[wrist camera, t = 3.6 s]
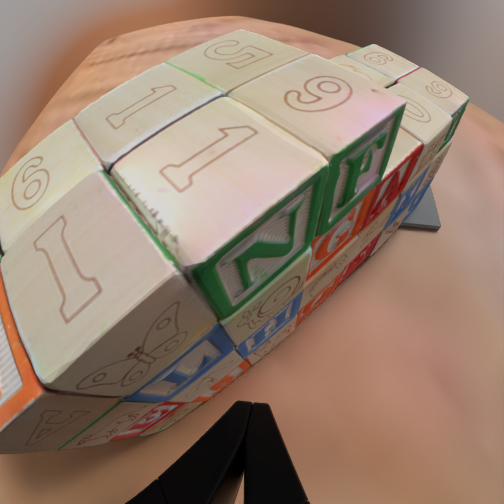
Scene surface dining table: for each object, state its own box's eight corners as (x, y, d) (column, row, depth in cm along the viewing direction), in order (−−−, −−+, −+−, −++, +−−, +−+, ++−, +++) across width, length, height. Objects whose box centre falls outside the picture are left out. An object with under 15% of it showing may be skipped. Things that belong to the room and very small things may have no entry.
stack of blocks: (353, 152, 21) (382, -4, 10) (420, 204, 19) (493, 51, 8) (102, 345, 16) (-71, 248, 5) (161, 435, 14) (-37, 456, 3)
